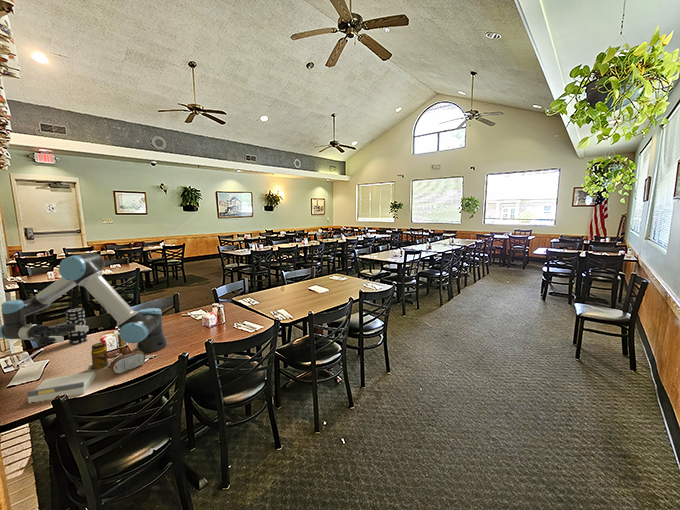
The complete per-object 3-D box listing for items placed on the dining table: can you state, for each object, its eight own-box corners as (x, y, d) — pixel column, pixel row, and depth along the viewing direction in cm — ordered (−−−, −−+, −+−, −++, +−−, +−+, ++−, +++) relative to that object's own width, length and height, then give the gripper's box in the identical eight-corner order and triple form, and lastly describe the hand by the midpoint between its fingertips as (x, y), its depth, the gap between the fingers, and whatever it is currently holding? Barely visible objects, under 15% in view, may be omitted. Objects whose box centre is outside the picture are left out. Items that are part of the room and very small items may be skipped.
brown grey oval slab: (144, 362, 154) (142, 347, 152) (147, 364, 152) (145, 349, 151) (110, 375, 141) (108, 359, 140) (113, 377, 139) (111, 361, 138)
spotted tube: (90, 340, 179) (87, 308, 176) (74, 345, 171) (71, 313, 168) (81, 338, 182) (78, 307, 179) (65, 343, 174) (61, 311, 171)
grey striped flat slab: (95, 377, 139) (94, 367, 139) (83, 394, 126) (82, 383, 126) (46, 385, 132) (44, 375, 131) (28, 404, 119) (26, 392, 119)
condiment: (108, 367, 148) (105, 345, 146) (86, 372, 143) (83, 349, 142) (109, 361, 154) (107, 340, 152) (88, 366, 149) (86, 344, 148)
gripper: (59, 329, 159) (97, 331, 159) (7, 350, 135) (51, 352, 134) (58, 316, 158) (96, 317, 158) (5, 335, 134) (50, 337, 133)
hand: (76, 333), depth 146 cm, fingers open, 13 cm apart
